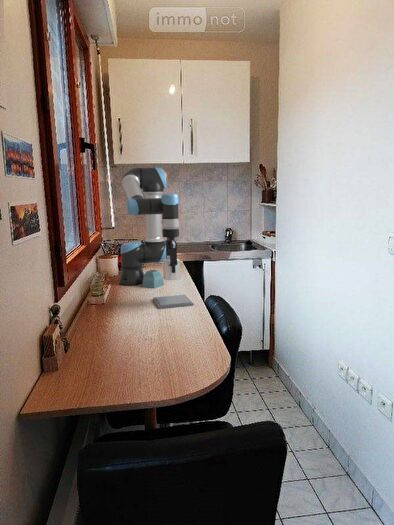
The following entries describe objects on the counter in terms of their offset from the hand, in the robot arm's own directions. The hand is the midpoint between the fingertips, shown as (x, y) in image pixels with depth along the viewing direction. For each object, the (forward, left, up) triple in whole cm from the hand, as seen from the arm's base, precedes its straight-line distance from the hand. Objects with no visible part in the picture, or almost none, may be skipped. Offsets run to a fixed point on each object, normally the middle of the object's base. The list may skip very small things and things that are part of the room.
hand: (171, 278), depth 175 cm
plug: (0, 0, 0) cm, 0 cm away
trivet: (0, 0, -12) cm, 12 cm away
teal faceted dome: (-35, -3, -3) cm, 35 cm away
